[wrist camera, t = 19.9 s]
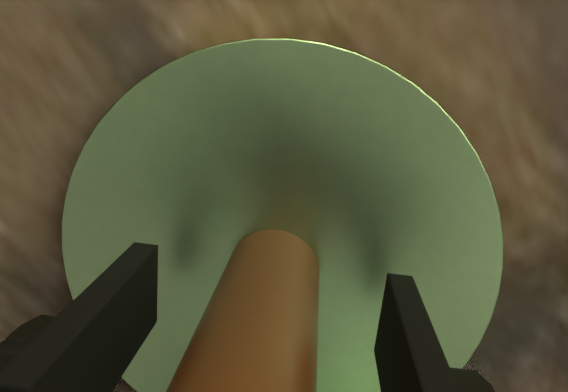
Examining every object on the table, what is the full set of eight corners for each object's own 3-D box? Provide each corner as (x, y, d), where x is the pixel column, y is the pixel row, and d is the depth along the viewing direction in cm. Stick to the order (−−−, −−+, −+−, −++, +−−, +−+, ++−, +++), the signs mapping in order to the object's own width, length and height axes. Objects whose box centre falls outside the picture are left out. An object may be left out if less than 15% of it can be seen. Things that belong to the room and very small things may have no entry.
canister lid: (4, 263, 18) (-353, 490, 9) (253, -69, 14) (102, -345, 5) (294, 486, 20) (266, 873, 11) (586, 249, 16) (975, 530, 7)
